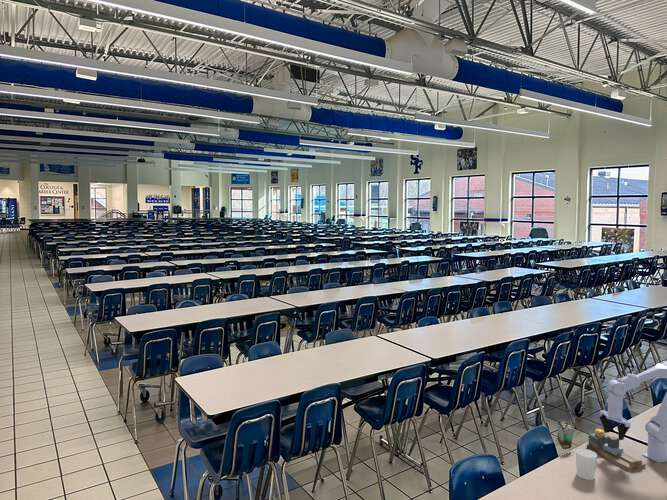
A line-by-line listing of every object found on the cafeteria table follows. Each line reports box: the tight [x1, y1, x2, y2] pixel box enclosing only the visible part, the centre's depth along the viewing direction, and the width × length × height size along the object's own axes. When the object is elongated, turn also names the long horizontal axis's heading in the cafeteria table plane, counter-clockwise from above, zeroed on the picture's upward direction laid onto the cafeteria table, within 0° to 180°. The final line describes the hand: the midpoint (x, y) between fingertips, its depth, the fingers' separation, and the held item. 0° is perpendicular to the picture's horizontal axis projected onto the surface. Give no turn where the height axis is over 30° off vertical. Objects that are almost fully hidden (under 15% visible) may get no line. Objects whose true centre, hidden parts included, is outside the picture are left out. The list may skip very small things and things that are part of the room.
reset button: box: [594, 428, 606, 437], centre depth 226 cm, size 4×4×5 cm
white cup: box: [575, 448, 598, 481], centre depth 201 cm, size 8×8×10 cm
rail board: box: [586, 432, 646, 472], centre depth 218 cm, size 10×22×6 cm, turn 18°
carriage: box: [603, 435, 624, 456], centre depth 219 cm, size 5×6×7 cm
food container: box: [556, 419, 576, 450], centre depth 229 cm, size 12×6×10 cm, turn 168°
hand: (613, 435), depth 219 cm, fingers open, 7 cm apart
